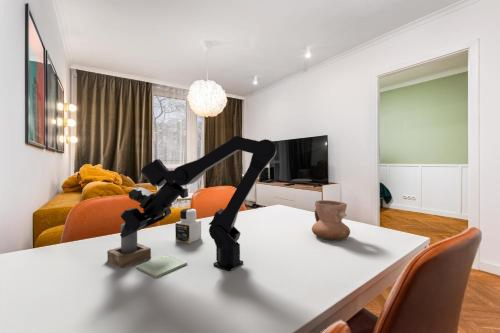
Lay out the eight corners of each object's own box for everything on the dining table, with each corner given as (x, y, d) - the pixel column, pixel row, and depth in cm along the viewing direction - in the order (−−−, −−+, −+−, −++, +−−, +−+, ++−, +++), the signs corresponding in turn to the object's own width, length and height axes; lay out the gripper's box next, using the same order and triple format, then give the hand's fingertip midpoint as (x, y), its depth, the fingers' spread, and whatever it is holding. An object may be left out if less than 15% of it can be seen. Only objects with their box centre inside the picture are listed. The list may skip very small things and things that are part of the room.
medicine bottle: (175, 240, 90) (174, 209, 90) (188, 235, 96) (187, 206, 96) (189, 243, 86) (188, 211, 86) (201, 238, 93) (201, 208, 92)
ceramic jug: (361, 242, 87) (360, 204, 87) (327, 246, 82) (327, 206, 83) (331, 230, 104) (331, 198, 104) (302, 232, 100) (302, 199, 100)
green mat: (187, 264, 68) (187, 262, 68) (156, 277, 60) (156, 275, 60) (167, 256, 74) (167, 254, 74) (136, 267, 66) (136, 265, 66)
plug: (140, 258, 73) (139, 223, 73) (125, 263, 69) (125, 226, 69) (133, 255, 76) (132, 221, 76) (118, 259, 72) (118, 224, 72)
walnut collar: (150, 257, 74) (150, 248, 74) (121, 267, 66) (121, 257, 66) (136, 251, 79) (136, 242, 79) (107, 260, 72) (107, 250, 72)
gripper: (162, 177, 81) (133, 207, 82) (126, 180, 62) (90, 220, 64) (184, 200, 80) (154, 230, 81) (154, 211, 61) (116, 250, 63)
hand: (131, 232), depth 72 cm, fingers open, 9 cm apart
